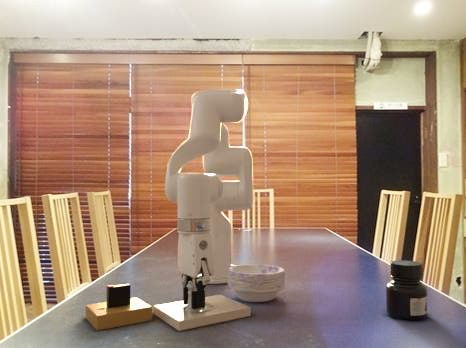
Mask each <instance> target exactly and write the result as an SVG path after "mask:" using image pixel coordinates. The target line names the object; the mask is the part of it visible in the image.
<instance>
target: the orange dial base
mask: <svg viewBox="0 0 466 348" xmlns="http://www.w3.org/2000/svg"><path fill="white" fill-rule="evenodd" d="M85 319H86V320H87V322H89V324H91V326H93V328H95V330H96V331H102V330H106V329H113V328H117V327H122V326H123V327H124V326H127V325H133V324H138V323H144V322H149V321H152V320H153V307H152V306H151V305H150V304H149V303H147V302H145V301H144V300H142V299H140V298H138V297H137V296H136V297H130V305H125V306H119V307H113V308H108V307H107V301H104V302H96V303H90V304H86V305H85Z"/></svg>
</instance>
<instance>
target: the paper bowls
mask: <svg viewBox="0 0 466 348" xmlns="http://www.w3.org/2000/svg"><path fill="white" fill-rule="evenodd" d="M285 275H286V273H285V269H284V268H283V267H282V266H281V267H280V266H276V265H271V264H258V263H256V264H255V263H252V264H238V265H236V266H235V265H234V266H232V267H230V268H229V269H228V283H227V287H228V288H229V289H230V290H233V291H234V293H235V296H236V298H237V299H239V300H241V301H244V302H249V303H265V302H270V301H272V300H275V298H276V297H277V295H278V293H279V292H281V291H283V290H284V289H285V285H286V283H285V279H286V278H285Z"/></svg>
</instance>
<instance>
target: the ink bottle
mask: <svg viewBox="0 0 466 348" xmlns="http://www.w3.org/2000/svg"><path fill="white" fill-rule="evenodd" d="M422 277H423V264H422V263H421V262H419V261H414V260H403V259H402V260H401V259H399V260H398V259H397V260H391V261H390V278H391V280H390V282H388V283H387V284H386V286H385V289H386V290H385V294H386V295H385V296H386V299H385V301H386V303H385V304H386V305H385V306H386V314H387V315H389V316H390V317H393V318H396V319H401V320H408V321H420V320H424V319H426V318H427V317H428V288H427V287H426V286H425V284H423V282H422V279H423V278H422Z"/></svg>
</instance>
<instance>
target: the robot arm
mask: <svg viewBox="0 0 466 348" xmlns="http://www.w3.org/2000/svg"><path fill="white" fill-rule="evenodd" d="M247 96H248V95H247V94H246V92H245V91H244V90H243V89H204V90H198V91H196V92H194V93H192V95H191V98H190V101H191V102H190V103H191V115H190V116H191V117H190V122H189V124H190V125H189V130H188V131H189V132H188V138H186V140H184V141H183V142H182V143H180V145H179V146H178V147H176V149H175V150H174V151H173V153H172V154H171V156H170V158H169V160H168V161H167V165H166V166H167V167H166V173H165V180H164V194H165V197H166V199H167V200H168V201H170V202H171V203H174V204H177V219H176V222H177V223H176V224H177V227H176V228H177V231H176V232H177V234H178V239H177V270H178V272H179V274H180V275H181V280H182V283H181V285H182V287H183V288H182V290H183V291H182V293H183V294H182V301H183V304H185V305H187V303H188V291H189V290H188V288H187V285H188V282H190V281H192V282H193V291H191V307H192V309H198V308H203V307H205V297H206V290H207V285H221V284H228V269H229V268H230V267H232V266H237V265H235V264H233V263H232V224H231V221H230V219H229V218H228V217H227V216H226V215H225V213H224V212H226V211H247V210H250V209H252V206H253V205H254V204H253V203H254V164H253V163H254V162H253V161H254V160H253V155H252V151H251V150H250V149H249V148H248V147H246V146H240V145H238V146H235V145H234V146H232V145H231V146H230V132H229V129H228V127H227V125H226V124H228V123H229V124H230V123H231V124H233V123H234V124H235V123H241V122H242V121H243V120H244V118H245V117H246V115H247V112H248V107H249V106H248V105H249V101H248V97H247ZM201 157H202V168H203V172H182V169H183V168H184V167H185V166H186V165H187V164H188V163H190V162H192V161H194V160H195V159H198V158H201ZM221 177H237V178H238V180H227V179H226V180H222V178H221ZM197 281H198V283H197Z"/></svg>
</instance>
